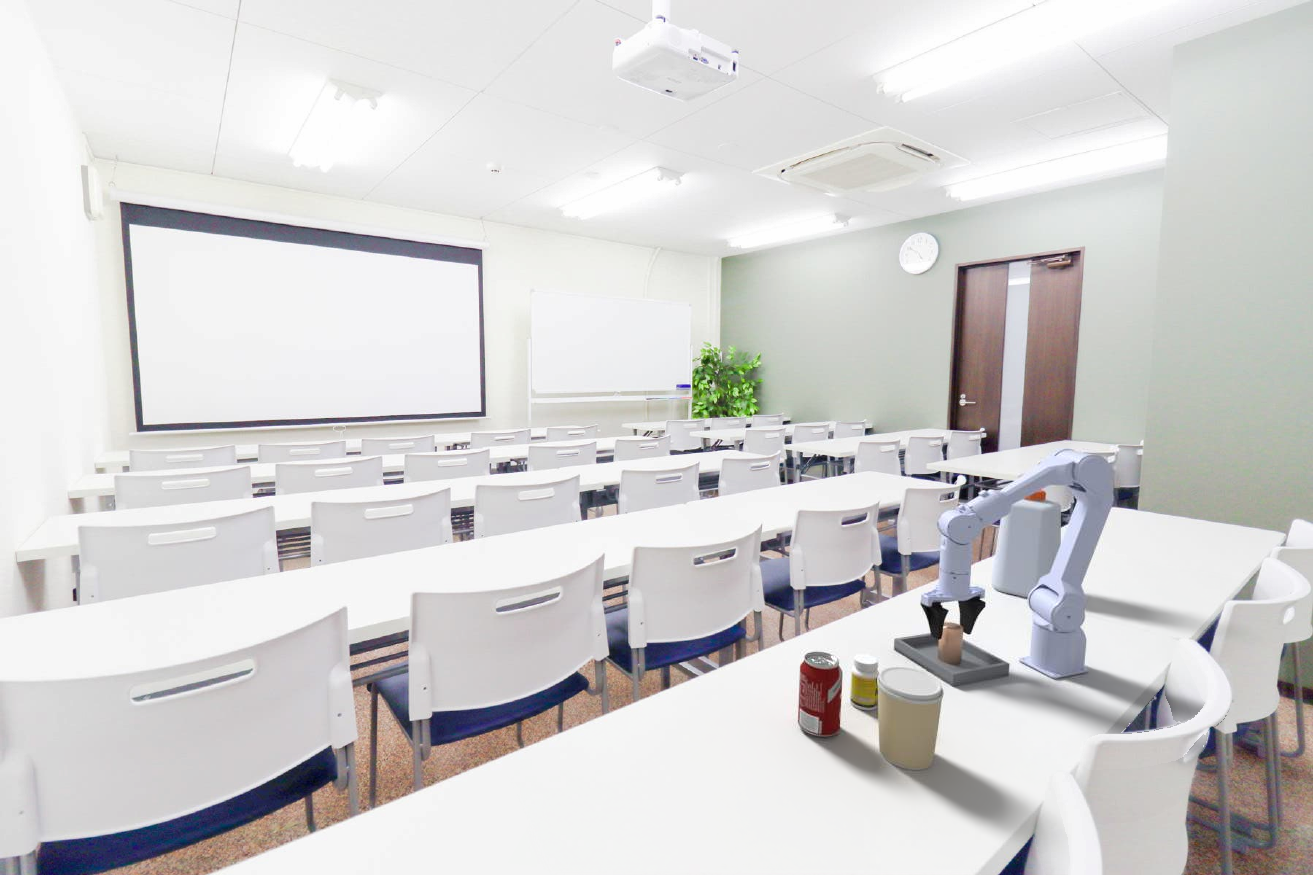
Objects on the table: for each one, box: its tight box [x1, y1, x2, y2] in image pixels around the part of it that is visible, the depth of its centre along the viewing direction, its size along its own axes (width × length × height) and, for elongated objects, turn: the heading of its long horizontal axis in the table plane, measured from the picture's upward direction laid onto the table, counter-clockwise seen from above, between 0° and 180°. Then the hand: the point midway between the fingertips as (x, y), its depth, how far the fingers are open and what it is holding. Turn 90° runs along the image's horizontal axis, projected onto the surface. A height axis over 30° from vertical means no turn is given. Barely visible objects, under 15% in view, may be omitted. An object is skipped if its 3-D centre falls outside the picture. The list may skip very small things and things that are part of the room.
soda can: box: [797, 651, 843, 738], centre depth 99 cm, size 7×7×12 cm
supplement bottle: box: [849, 653, 880, 711], centre depth 107 cm, size 5×5×8 cm
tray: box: [893, 632, 1011, 687], centre depth 123 cm, size 14×16×2 cm
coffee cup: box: [877, 666, 945, 771], centre depth 92 cm, size 9×9×12 cm
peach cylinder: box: [938, 621, 964, 664], centre depth 123 cm, size 4×4×7 cm
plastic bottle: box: [990, 489, 1062, 599], centre depth 164 cm, size 15×15×28 cm
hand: (950, 634), depth 122 cm, fingers open, 7 cm apart
